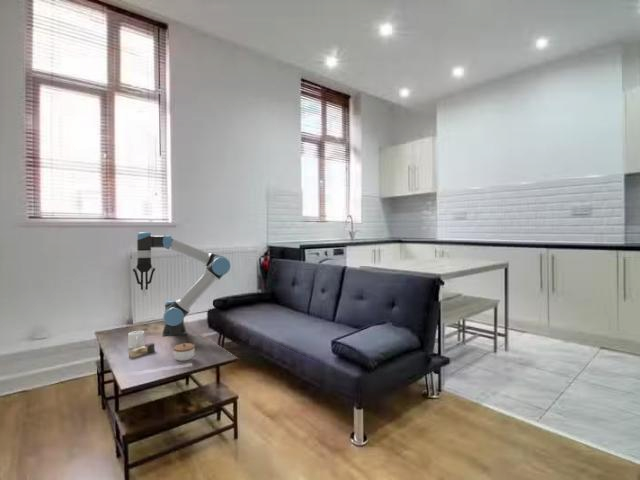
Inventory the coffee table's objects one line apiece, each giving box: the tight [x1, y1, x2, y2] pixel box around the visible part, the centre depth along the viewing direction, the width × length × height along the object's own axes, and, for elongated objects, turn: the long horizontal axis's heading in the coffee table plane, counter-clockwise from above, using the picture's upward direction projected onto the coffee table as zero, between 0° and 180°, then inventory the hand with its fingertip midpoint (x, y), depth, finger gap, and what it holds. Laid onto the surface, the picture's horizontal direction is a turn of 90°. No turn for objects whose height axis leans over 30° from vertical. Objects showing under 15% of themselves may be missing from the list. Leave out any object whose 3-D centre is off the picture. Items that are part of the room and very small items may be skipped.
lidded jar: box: [173, 342, 196, 362], centre depth 186 cm, size 11×11×9 cm
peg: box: [128, 342, 155, 359], centre depth 190 cm, size 14×5×4 cm, turn 148°
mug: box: [127, 330, 145, 350], centre depth 201 cm, size 8×12×10 cm
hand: (144, 294), depth 212 cm, fingers closed
